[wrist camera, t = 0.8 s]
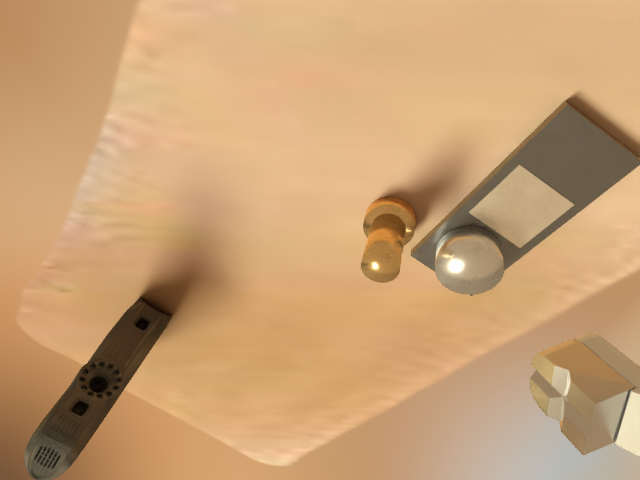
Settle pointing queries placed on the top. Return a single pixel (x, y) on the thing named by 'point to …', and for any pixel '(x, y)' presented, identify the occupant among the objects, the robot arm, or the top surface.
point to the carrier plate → (524, 201)
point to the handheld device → (93, 392)
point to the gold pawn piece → (386, 237)
